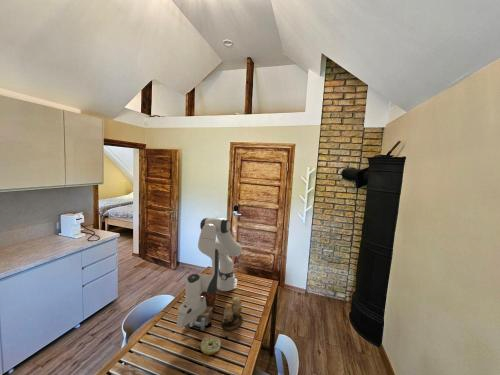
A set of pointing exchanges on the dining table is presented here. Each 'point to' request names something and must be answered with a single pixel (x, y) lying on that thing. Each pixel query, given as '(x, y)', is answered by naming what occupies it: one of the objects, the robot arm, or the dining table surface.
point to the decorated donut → (210, 345)
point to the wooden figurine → (209, 299)
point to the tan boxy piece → (204, 316)
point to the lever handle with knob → (200, 324)
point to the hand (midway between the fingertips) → (192, 325)
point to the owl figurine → (232, 315)
